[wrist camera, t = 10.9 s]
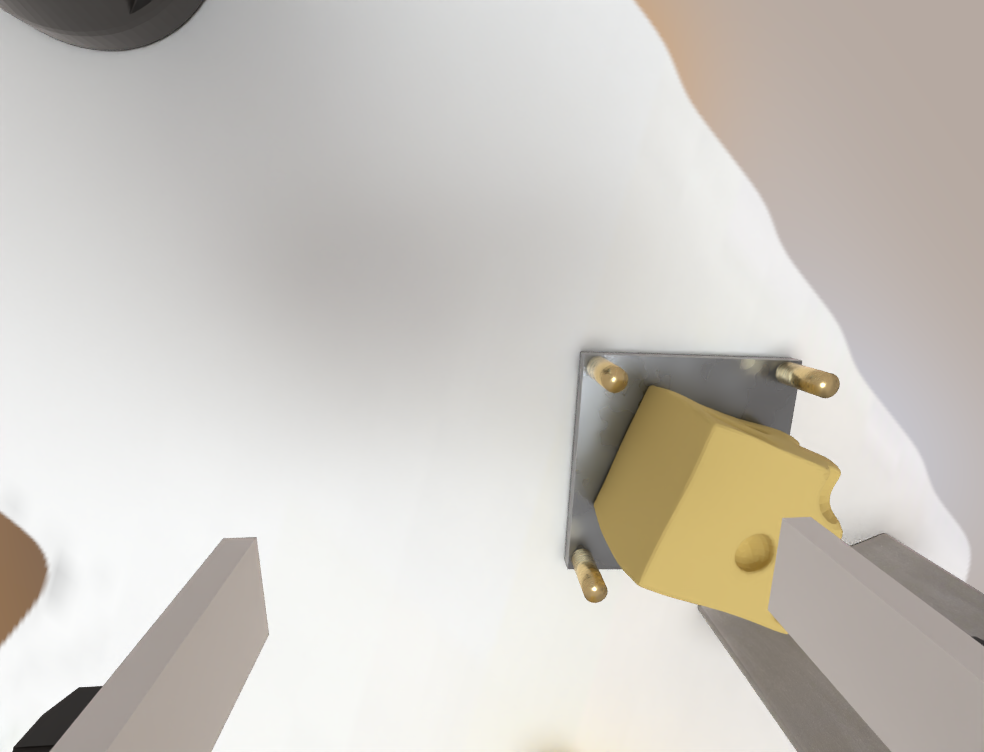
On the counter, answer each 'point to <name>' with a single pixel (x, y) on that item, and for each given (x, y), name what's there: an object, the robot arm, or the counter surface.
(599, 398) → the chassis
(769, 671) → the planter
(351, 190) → the counter surface
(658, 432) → the cheese
